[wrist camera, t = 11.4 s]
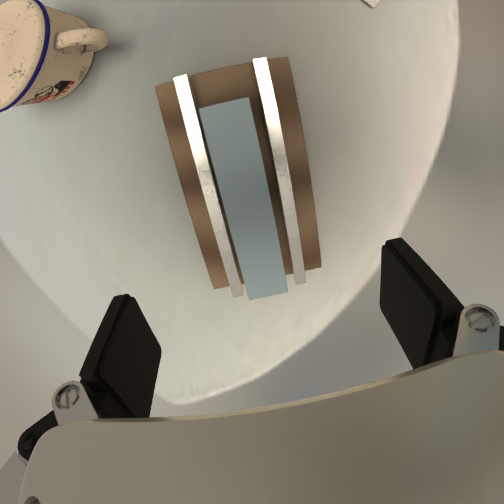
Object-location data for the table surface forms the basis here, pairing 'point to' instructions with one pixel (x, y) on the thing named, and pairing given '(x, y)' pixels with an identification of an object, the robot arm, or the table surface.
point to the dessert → (372, 2)
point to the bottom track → (273, 155)
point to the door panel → (245, 195)
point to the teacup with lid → (42, 52)
